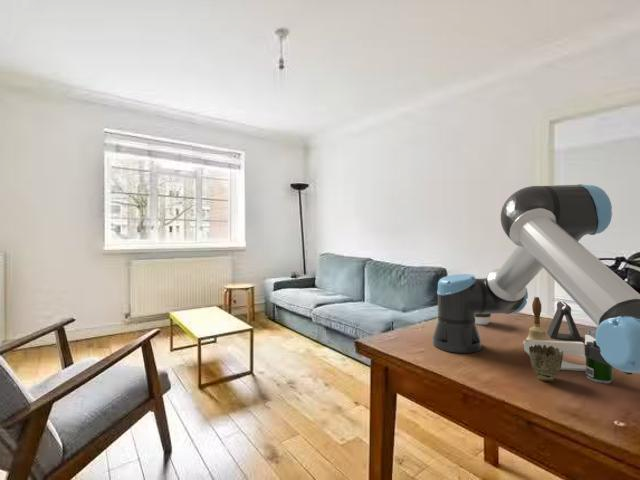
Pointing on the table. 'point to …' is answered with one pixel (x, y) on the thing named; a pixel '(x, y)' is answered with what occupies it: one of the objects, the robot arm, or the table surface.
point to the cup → (545, 361)
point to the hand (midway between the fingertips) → (622, 342)
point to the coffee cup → (482, 319)
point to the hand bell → (536, 323)
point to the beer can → (598, 367)
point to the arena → (564, 352)
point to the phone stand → (557, 322)
